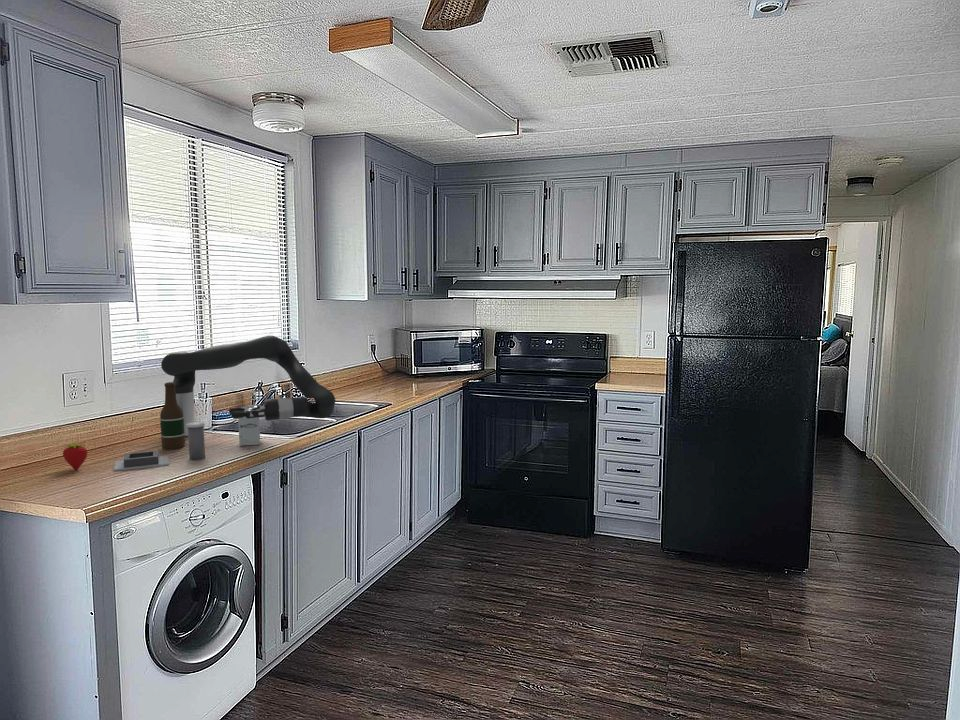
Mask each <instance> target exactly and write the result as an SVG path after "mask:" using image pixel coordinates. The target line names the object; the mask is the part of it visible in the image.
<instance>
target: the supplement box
mask: <svg viewBox="0 0 960 720" xmlns="http://www.w3.org/2000/svg"><path fill="white" fill-rule="evenodd" d="M237 419H238V445H239V447H241V446H258V445H260V443H261V426H260V425H261V423H260V422H261V421H260V417H257V418H249V419H248V418H244V417H243V418H237Z"/></svg>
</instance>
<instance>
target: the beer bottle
mask: <svg viewBox="0 0 960 720" xmlns="http://www.w3.org/2000/svg"><path fill="white" fill-rule="evenodd" d="M163 385H164V393H165V396H164V405H163V407H162V409H161V411H160V415H159V416H160V417H159V420H160V421H159V422H160V423H159V424H160V440H161V447H162V449H163V450H166V451H167V450H178V449H182V448H184V447H185V446H186V436H185V434H184V417H183V411H182V409H181V408H180V406H179V405H178V403H177V399H176V391H175V385H176V384H175V383H174V382H173V381H168V382H165V383H164V384H163Z"/></svg>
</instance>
